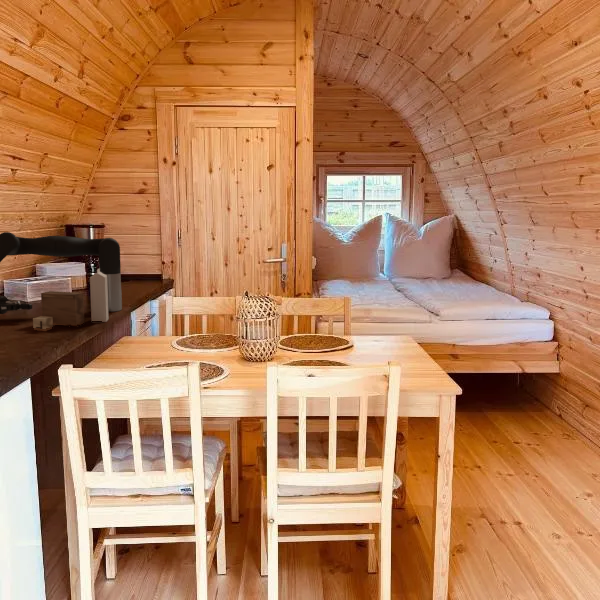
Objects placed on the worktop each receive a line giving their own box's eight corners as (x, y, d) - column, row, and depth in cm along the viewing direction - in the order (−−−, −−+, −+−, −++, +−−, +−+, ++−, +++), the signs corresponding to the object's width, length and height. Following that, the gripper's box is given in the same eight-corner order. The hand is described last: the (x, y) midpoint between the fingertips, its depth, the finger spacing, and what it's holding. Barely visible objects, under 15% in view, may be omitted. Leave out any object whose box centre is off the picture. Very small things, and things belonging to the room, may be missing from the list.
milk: (108, 319, 254) (107, 268, 250) (106, 322, 248) (105, 269, 244) (93, 319, 253) (92, 267, 249) (91, 322, 247) (89, 269, 243)
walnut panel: (51, 322, 246) (50, 291, 244) (84, 324, 243) (83, 292, 241) (42, 324, 240) (40, 293, 238) (76, 327, 237) (74, 294, 235)
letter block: (41, 328, 233) (40, 316, 232) (53, 329, 232) (52, 316, 231) (33, 331, 228) (32, 318, 227) (44, 332, 227) (44, 319, 226)
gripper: (-19, 298, 239) (20, 300, 236) (4, 293, 252) (40, 295, 249) (-17, 316, 241) (21, 318, 237) (5, 310, 253) (41, 312, 250)
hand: (31, 306), depth 243 cm, fingers closed
